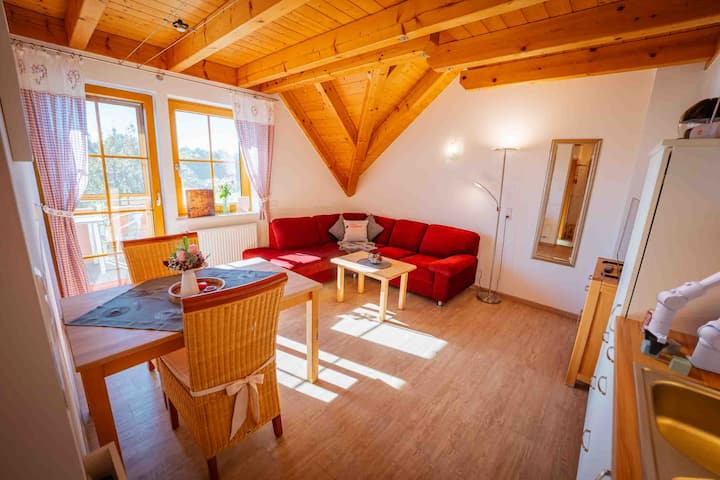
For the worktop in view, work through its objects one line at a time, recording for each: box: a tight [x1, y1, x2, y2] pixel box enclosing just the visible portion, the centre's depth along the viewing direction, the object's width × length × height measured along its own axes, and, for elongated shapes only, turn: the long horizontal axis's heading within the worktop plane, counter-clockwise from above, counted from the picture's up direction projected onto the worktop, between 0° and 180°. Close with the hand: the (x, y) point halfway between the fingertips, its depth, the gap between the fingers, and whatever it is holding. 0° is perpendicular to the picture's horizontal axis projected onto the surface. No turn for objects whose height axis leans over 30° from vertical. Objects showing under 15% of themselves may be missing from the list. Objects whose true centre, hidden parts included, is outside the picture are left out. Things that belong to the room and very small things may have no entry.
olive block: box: [668, 354, 692, 377], centre depth 110 cm, size 4×4×4 cm
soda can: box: [639, 308, 656, 336], centre depth 132 cm, size 5×5×12 cm
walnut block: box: [661, 337, 683, 356], centre depth 122 cm, size 4×4×4 cm
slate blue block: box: [640, 338, 661, 359], centre depth 119 cm, size 4×4×4 cm
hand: (650, 349), depth 119 cm, fingers open, 7 cm apart
